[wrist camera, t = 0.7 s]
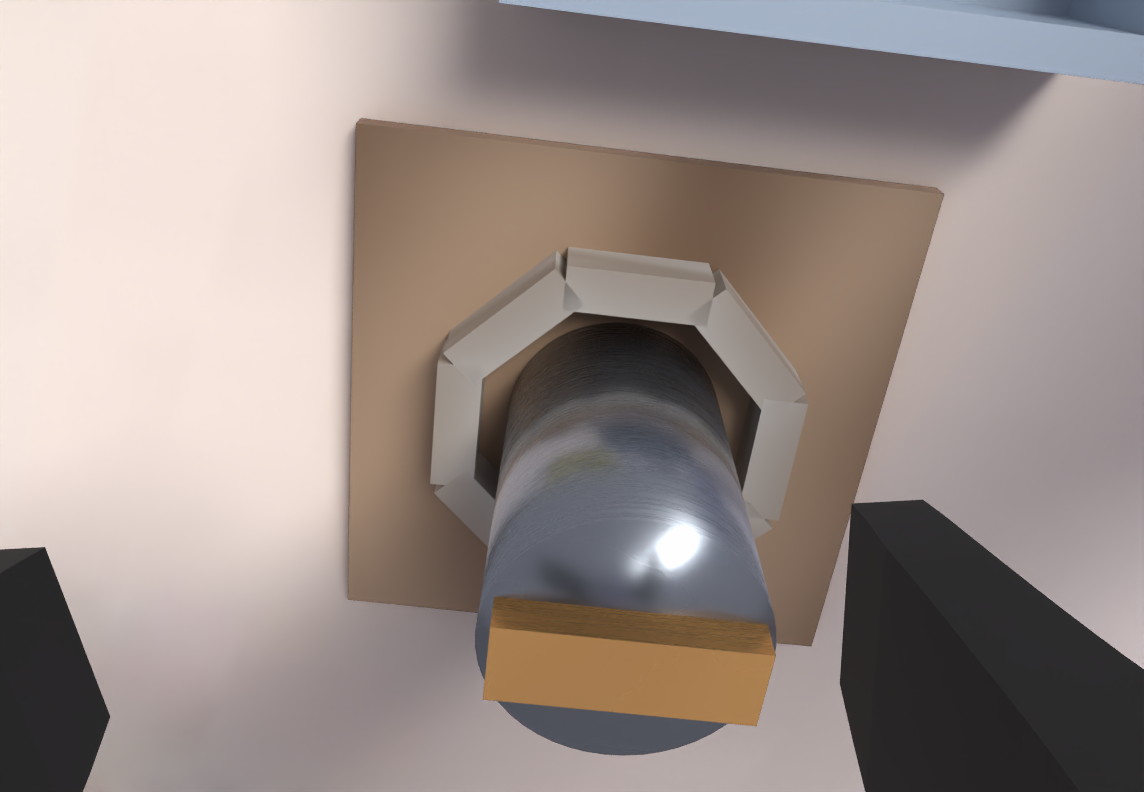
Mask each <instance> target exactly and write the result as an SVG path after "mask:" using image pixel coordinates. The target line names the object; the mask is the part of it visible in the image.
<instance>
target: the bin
mask: <svg viewBox="0 0 1144 792" xmlns="http://www.w3.org/2000/svg"><path fill="white" fill-rule="evenodd" d="M499 3H505V4H513V5H521V6H528V7H536V8H544V9H552V10H560V11H568V12H576V13H584V14H592V15H599V16H607V17H615V18H623V19H631V20H639V21H647V22H655V23H663V24H670V25H678V26H686V27H694V28H702V29H710V30H718V31H726V32H734V33H741V34H749V35H757V36H765V37H773V38H781V39H789V40H797V41H805V42H812V43H820V44H828V45H836V46H844V47H852V48H860V49H868V50H876V51H883V52H891V53H899V54H907V55H915V56H923V57H931V58H939V59H947V60H954V61H962V62H970V63H978V64H986V65H994V66H1002V67H1010V68H1018V69H1025V70H1033V71H1041V72H1049V73H1057V74H1065V75H1073V76H1081V77H1088V78H1096V79H1104V80H1112V81H1120V82H1128V83H1136V84H1144V0H499Z"/></svg>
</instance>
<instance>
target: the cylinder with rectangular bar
mask: <svg viewBox="0 0 1144 792" xmlns="http://www.w3.org/2000/svg"><path fill="white" fill-rule="evenodd" d="M475 648H476V654H477V660H478V664H479V667H480V670H481V673H482V676H483V678H484V680H485V683H484V693H483V700H493V701H498V702H499V703H500V704H501V705H502V706H503V708H504V709H505V710H506V711H507V712H508V713H509V714H510V715H511V716H513V717H514V718H515V719H516V720H518V721H519V722H520V723H521V724H522V725H524V726H526V727H527V728H529V729H530V730H532V731H533V732H535V733H537V734H538V735H541V736H543V737H545V738H547V739H549V740H551V741H553V742H556V743H558V744H561V745H564V746H567V747H570V748H574V749H578V750H582V751H586V752H592V753H598V754H605V755H642V754H649V753H656V752H662V751H666V750H670V749H674V748H678V747H681V746H684V745H687V744H690V743H692V742H695V741H697V740H699V739H702V738H704V737H706V736H708V735H710V734H712V733H713V732H715V731H717V730H718V729H720V728H722V727H723V726H725V725H726V724H728V723H729V724H740V725H750V726H757V723H758V719H759V715H760V712H761V708H762V704H763V701H764V697H765V693H766V690H767V686H768V682H769V679H770V675H771V671H772V668H773V664H774V660H775V657H776V655H775V649H776V624H775V618H774V613H773V609H772V605H771V601H770V598H769V594H768V590H767V586H766V582H765V579H764V575H763V571H762V567H761V563H760V559H759V556H758V552H757V548H756V544H755V540H754V537H753V533H752V529H751V525H750V521H749V518H748V514H747V510H746V506H745V502H744V498H743V495H742V491H741V487H740V483H739V479H738V476H737V472H736V468H735V464H734V460H733V457H732V453H731V449H730V445H729V441H728V437H727V434H726V430H725V426H724V422H723V418H722V415H721V411H720V407H719V403H718V399H717V396H716V392H715V389H714V386H713V383H712V381H711V379H710V377H709V375H708V373H707V371H706V369H705V368H704V366H703V365H702V364H701V362H700V361H699V360H698V358H697V357H696V356H695V355H694V354H693V353H692V352H691V351H690V350H689V349H688V348H686V347H685V346H684V345H683V344H681V343H680V342H679V341H677V340H675V339H674V338H672V337H671V336H669V335H667V334H665V333H662V332H660V331H658V330H656V329H653V328H649V327H646V326H643V325H637V324H632V323H621V322H609V323H598V324H592V325H587V326H583V327H580V328H577V329H574V330H571V331H569V332H567V333H565V334H563V335H561V336H559V337H557V338H556V339H554V340H552V341H551V342H549V343H548V344H546V345H545V346H544V347H543V348H542V349H540V350H539V351H538V352H537V353H536V354H535V355H534V356H533V357H532V358H531V359H530V361H529V362H528V363H527V365H526V366H525V367H524V369H523V370H522V372H521V373H520V375H519V377H518V379H517V381H516V383H515V386H514V389H513V392H512V395H511V401H510V407H509V413H508V420H507V426H506V433H505V439H504V446H503V453H502V459H501V466H500V472H499V479H498V486H497V492H496V499H495V505H494V512H493V519H492V525H491V532H490V538H489V545H488V552H487V558H486V565H485V571H484V578H483V585H482V591H481V598H480V604H479V611H478V618H477V624H476V631H475Z"/></svg>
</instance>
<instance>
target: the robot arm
mask: <svg viewBox="0 0 1144 792" xmlns="http://www.w3.org/2000/svg"><path fill="white" fill-rule="evenodd" d="M840 686H841V690H842V695H843V699H844V704H845V708H846V712H847V717H848V721H849V726H850V730H851V734H852V739H853V743H854V747H855V751H856V755H857V759H858V763H859V768H860V772H861V776H862V780H863V784H864V788H865V792H1144V669H1142V668H1141V667H1140V666H1138V665H1137V664H1135V663H1134V662H1133V661H1131V660H1130V659H1128V658H1127V657H1126V656H1124V655H1123V654H1122V653H1120V652H1119V651H1118V650H1116V649H1115V648H1113V647H1112V646H1111V645H1109V644H1108V643H1107V642H1105V641H1104V640H1103V639H1101V638H1100V637H1099V636H1097V635H1096V634H1095V633H1093V632H1092V631H1091V630H1089V629H1088V628H1087V627H1085V626H1084V625H1083V624H1081V623H1080V622H1079V621H1077V620H1076V619H1075V618H1073V617H1072V616H1071V615H1069V614H1068V613H1067V612H1065V611H1064V610H1063V609H1062V608H1060V607H1059V606H1058V605H1056V604H1055V603H1054V602H1053V601H1051V600H1050V599H1049V598H1047V597H1046V596H1045V595H1044V594H1042V593H1041V592H1040V591H1038V590H1037V589H1036V588H1035V587H1033V586H1032V585H1031V584H1029V583H1028V582H1027V581H1026V580H1024V579H1023V578H1022V577H1021V576H1019V575H1018V574H1017V573H1016V572H1014V571H1013V570H1012V569H1011V568H1009V567H1008V566H1007V565H1005V564H1004V563H1003V562H1002V561H1000V560H999V559H998V558H997V557H995V556H994V555H993V554H992V553H990V552H989V551H988V550H987V549H985V548H984V547H983V546H982V545H980V544H979V543H978V542H977V541H975V540H974V539H973V538H972V537H970V536H969V535H968V534H967V533H965V532H964V531H963V530H962V529H960V528H959V527H958V526H957V525H955V524H954V523H953V522H952V521H950V520H949V519H948V518H946V517H945V516H944V515H943V514H941V513H940V512H939V511H937V510H936V509H935V508H933V507H932V506H931V505H929V504H928V503H927V502H925V501H924V500H911V501H892V502H874V503H855V504H851V519H850V535H849V550H848V566H847V581H846V597H845V612H844V628H843V643H842V659H841V674H840ZM109 719H110V715H109V712H108V710H107V707H106V705H105V702H104V699H103V697H102V694H101V692H100V689H99V686H98V684H97V681H96V679H95V676H94V673H93V671H92V668H91V666H90V663H89V660H88V658H87V655H86V653H85V650H84V647H83V645H82V642H81V640H80V637H79V634H78V632H77V629H76V627H75V624H74V621H73V619H72V616H71V614H70V611H69V608H68V606H67V603H66V601H65V598H64V595H63V593H62V590H61V588H60V585H59V582H58V580H57V577H56V575H55V572H54V569H53V567H52V564H51V561H50V559H49V556H48V554H47V551H46V548H45V547H41V548H22V549H4V550H0V792H83V790H84V787H85V785H86V782H87V780H88V777H89V775H90V772H91V769H92V766H93V763H94V761H95V758H96V755H97V752H98V749H99V747H100V744H101V741H102V738H103V735H104V733H105V730H106V727H107V724H108V721H109Z"/></svg>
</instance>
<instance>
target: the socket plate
mask: <svg viewBox="0 0 1144 792" xmlns="http://www.w3.org/2000/svg"><path fill="white" fill-rule="evenodd" d="M943 196H944V194H943V193H942V192H941V191H940V190H938V189H937V188H932V187H924V186H915V185H907V184H899V183H891V182H882V181H874V180H866V179H858V178H849V177H841V176H833V175H825V174H816V173H808V172H800V171H792V170H783V169H775V168H767V167H759V166H750V165H742V164H734V163H726V162H717V161H709V160H701V159H693V158H684V157H676V156H668V155H660V154H651V153H643V152H635V151H627V150H618V149H610V148H602V147H594V146H585V145H577V144H569V143H561V142H552V141H544V140H536V139H528V138H520V137H511V136H503V135H495V134H487V133H478V132H470V131H462V130H454V129H445V128H437V127H429V126H421V125H412V124H404V123H396V122H388V121H379V120H371V119H363V118H361V119H360V120H359V121H358V122H357V123H356V152H355V210H354V268H353V326H352V384H351V442H350V500H349V558H348V600H357V601H367V602H377V603H387V604H397V605H407V606H417V607H427V608H436V609H446V610H456V611H466V612H476V613H478V611H479V604H480V598H481V591H482V585H483V578H484V571H485V565H486V558H487V552H488V545H489V538H490V532H491V525H492V519H493V512H494V505H495V499H496V492H497V486H498V479H499V472H500V466H501V459H502V453H503V446H504V439H505V433H506V426H507V420H508V413H509V407H510V401H511V395H512V392H513V389H514V386H515V383H516V381H517V379H518V377H519V375H520V373H521V372H522V370H523V369H524V367H525V366H526V365H527V363H528V362H529V361H530V359H531V358H532V357H533V356H534V355H535V354H536V353H537V352H538V351H539V350H540V349H542V348H543V347H544V346H545V345H546V344H548V343H549V342H551V341H552V340H554V339H556V338H557V337H559V336H561V335H563V334H565V333H567V332H569V331H571V330H574V329H577V328H580V327H583V326H587V325H592V324H598V323H609V322H621V323H632V324H637V325H643V326H646V327H649V328H653V329H656V330H658V331H660V332H662V333H665V334H667V335H669V336H671V337H672V338H674V339H675V340H677V341H679V342H680V343H681V344H683V345H684V346H685V347H686V348H688V349H689V350H690V351H691V352H692V353H693V354H694V355H695V356H696V357H697V358H698V360H699V361H700V362H701V364H702V365H703V366H704V368H705V369H706V371H707V373H708V375H709V377H710V379H711V381H712V383H713V386H714V389H715V392H716V396H717V399H718V403H719V407H720V411H721V415H722V418H723V422H724V426H725V430H726V434H727V437H728V441H729V445H730V449H731V453H732V457H733V460H734V464H735V468H736V472H737V476H738V479H739V483H740V487H741V491H742V495H743V498H744V502H745V506H746V510H747V514H748V518H749V521H750V525H751V529H752V533H753V537H754V540H755V544H756V548H757V552H758V556H759V559H760V563H761V567H762V571H763V575H764V579H765V582H766V586H767V590H768V594H769V598H770V601H771V605H772V609H773V613H774V618H775V624H776V643H783V644H793V645H802V646H812V642H813V639H814V636H815V632H816V629H817V625H818V622H819V619H820V615H821V612H822V608H823V605H824V602H825V598H826V595H827V591H828V588H829V584H830V581H831V578H832V574H833V571H834V567H835V564H836V561H837V557H838V554H839V550H840V547H841V544H842V540H843V537H844V533H845V530H846V527H847V523H848V520H849V516H850V513H851V504H853V503H854V499H855V496H856V493H857V489H858V486H859V482H860V479H861V476H862V472H863V469H864V465H865V462H866V459H867V455H868V452H869V448H870V445H871V441H872V438H873V435H874V431H875V428H876V424H877V421H878V418H879V414H880V411H881V407H882V404H883V401H884V397H885V394H886V390H887V387H888V384H889V380H890V377H891V373H892V370H893V367H894V363H895V360H896V356H897V353H898V350H899V346H900V343H901V339H902V336H903V333H904V329H905V326H906V322H907V319H908V316H909V312H910V309H911V305H912V302H913V299H914V295H915V292H916V288H917V285H918V281H919V278H920V275H921V271H922V268H923V264H924V261H925V258H926V254H927V251H928V247H929V244H930V241H931V237H932V234H933V230H934V227H935V224H936V220H937V217H938V213H939V210H940V207H941V203H942V200H943Z"/></svg>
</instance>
